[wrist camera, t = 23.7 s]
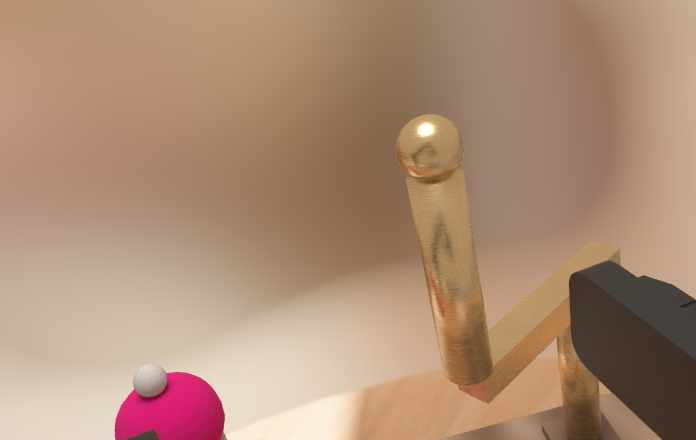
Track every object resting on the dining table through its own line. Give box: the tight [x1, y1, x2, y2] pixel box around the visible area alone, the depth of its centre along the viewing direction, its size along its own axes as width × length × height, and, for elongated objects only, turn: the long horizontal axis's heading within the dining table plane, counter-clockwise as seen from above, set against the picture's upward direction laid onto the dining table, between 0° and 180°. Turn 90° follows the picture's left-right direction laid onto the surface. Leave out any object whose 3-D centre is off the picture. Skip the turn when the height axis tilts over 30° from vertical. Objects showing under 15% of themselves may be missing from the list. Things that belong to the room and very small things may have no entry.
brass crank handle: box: [396, 114, 621, 440], centre depth 38 cm, size 16×3×27 cm, turn 132°
